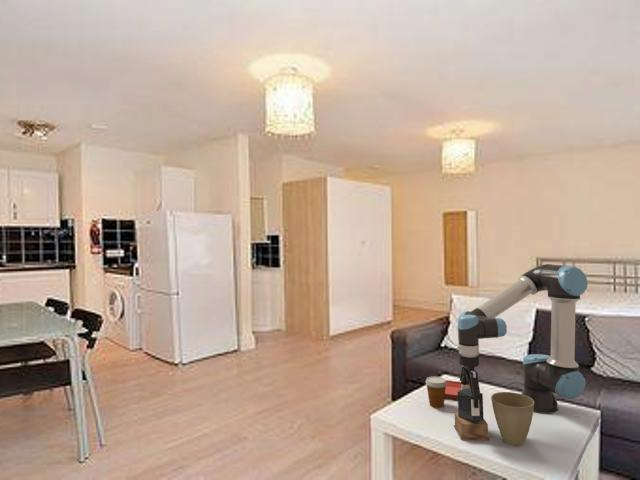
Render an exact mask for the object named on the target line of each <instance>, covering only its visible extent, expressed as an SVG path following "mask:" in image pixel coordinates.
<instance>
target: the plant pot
mask: <svg viewBox="0 0 640 480" xmlns="http://www.w3.org/2000/svg"><path fill="white" fill-rule="evenodd" d="M490 399H491V406H492V410H493V414H494V417H495V421H496V424H497V428H498V429H499V433H500V436H501V438H502V441H503V442H504V443H506V444H508V445H512V446H523V445H524V444H525V442H526V439H528V434H529V432H530V427H531V424H532V421H533V416H534V412H533V410H534V400H533V399H531V398H530V397H528V396H525V395H522V393H517V392H511V391H499V392H495V393H493V394H491V397H490Z"/></svg>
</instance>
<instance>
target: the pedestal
mask: <svg viewBox="0 0 640 480" xmlns="http://www.w3.org/2000/svg"><path fill="white" fill-rule="evenodd" d="M453 428H454V430H455V431H456V433H457V436H458V437H459V439H460V440H461V441H490V437H489V423H488V422H487V421H486V420H485V418H484V417H483V420H482V421H480V422H478V423H473V422H470V421H468V420H465V419H463V418H461V417H459V416H458V412H454V425H453Z"/></svg>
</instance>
